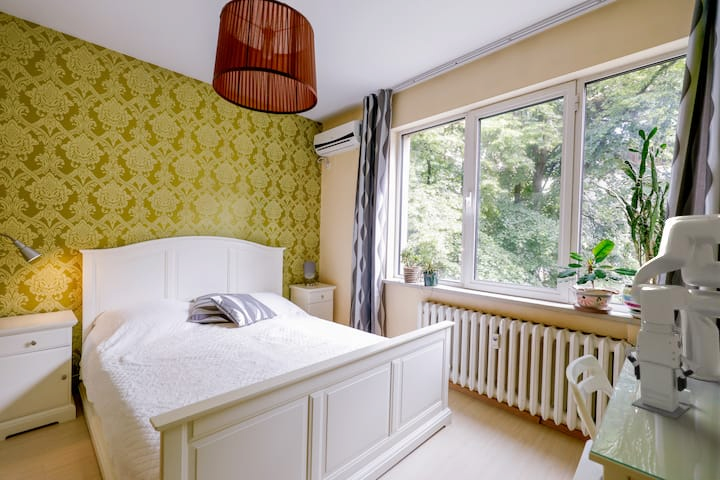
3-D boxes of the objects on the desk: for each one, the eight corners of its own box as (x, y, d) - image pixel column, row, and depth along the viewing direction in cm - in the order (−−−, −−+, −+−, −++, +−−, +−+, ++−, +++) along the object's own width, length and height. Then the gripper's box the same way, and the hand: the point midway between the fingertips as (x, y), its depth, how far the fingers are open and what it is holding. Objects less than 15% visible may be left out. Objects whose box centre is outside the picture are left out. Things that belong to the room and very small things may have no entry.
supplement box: (680, 405, 98) (678, 363, 98) (672, 413, 94) (671, 369, 94) (648, 396, 104) (647, 356, 104) (640, 403, 100) (638, 361, 100)
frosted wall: (642, 389, 110) (641, 377, 110) (691, 403, 100) (690, 390, 100) (640, 390, 109) (640, 378, 109) (689, 404, 99) (689, 391, 99)
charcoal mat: (647, 394, 106) (647, 393, 106) (689, 407, 97) (689, 406, 97) (631, 404, 100) (631, 403, 100) (675, 419, 91) (675, 417, 91)
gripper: (701, 332, 94) (703, 392, 93) (628, 320, 108) (629, 372, 108) (693, 336, 90) (695, 398, 89) (618, 324, 105) (619, 377, 104)
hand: (659, 384), depth 99 cm, fingers open, 9 cm apart
